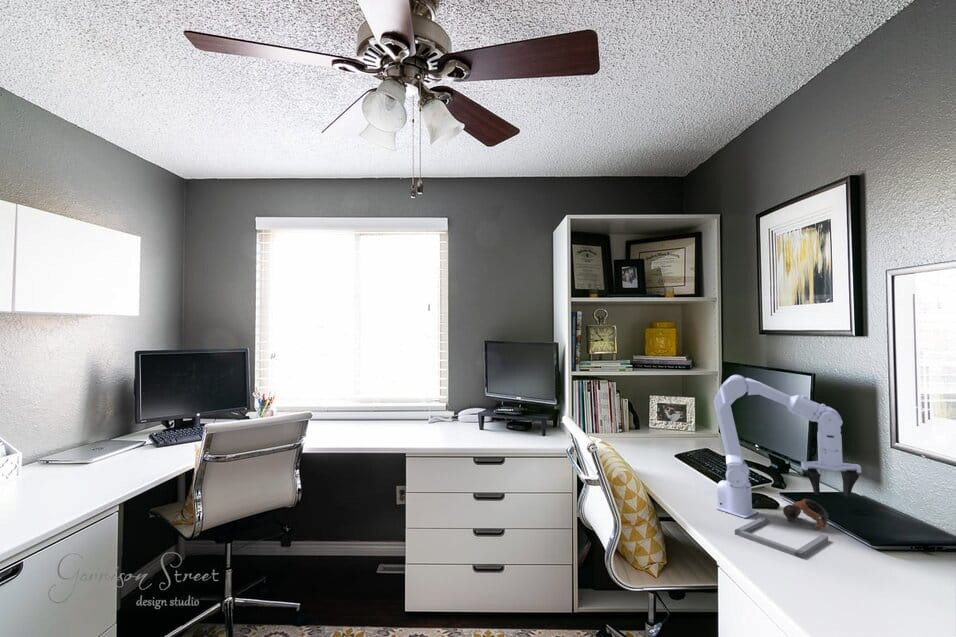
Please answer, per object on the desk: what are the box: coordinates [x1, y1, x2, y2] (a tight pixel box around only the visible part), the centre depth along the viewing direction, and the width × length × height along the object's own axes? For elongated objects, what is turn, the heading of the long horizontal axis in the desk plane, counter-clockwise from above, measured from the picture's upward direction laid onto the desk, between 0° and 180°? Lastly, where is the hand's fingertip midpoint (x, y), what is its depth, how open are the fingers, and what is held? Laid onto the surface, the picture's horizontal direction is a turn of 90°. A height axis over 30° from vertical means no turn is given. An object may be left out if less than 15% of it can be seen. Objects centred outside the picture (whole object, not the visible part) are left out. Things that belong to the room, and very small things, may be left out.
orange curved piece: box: [782, 498, 830, 531], centre depth 137 cm, size 12×10×8 cm
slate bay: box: [734, 515, 829, 559], centre depth 129 cm, size 17×16×1 cm
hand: (831, 495), depth 134 cm, fingers open, 7 cm apart
